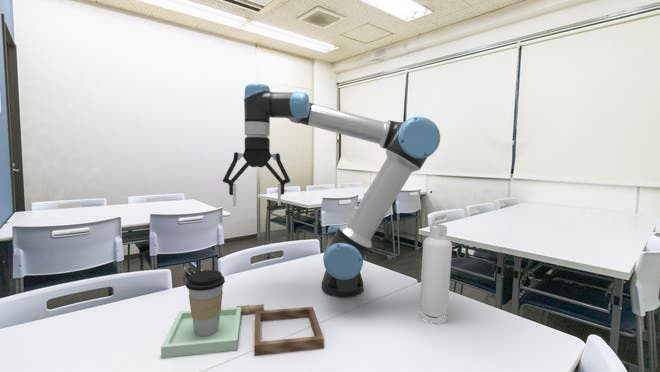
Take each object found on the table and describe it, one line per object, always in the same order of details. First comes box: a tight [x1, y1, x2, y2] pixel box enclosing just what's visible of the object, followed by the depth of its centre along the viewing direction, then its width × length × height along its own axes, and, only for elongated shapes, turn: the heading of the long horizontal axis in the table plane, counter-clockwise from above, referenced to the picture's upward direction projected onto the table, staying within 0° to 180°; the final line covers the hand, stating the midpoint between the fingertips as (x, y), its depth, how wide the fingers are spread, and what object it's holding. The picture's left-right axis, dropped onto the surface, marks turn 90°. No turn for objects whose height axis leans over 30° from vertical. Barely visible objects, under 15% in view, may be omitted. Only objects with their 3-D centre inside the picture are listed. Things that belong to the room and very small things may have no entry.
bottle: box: [418, 223, 453, 324], centre depth 95 cm, size 8×8×28 cm
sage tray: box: [160, 306, 242, 359], centre depth 84 cm, size 17×17×3 cm
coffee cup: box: [185, 269, 226, 337], centre depth 83 cm, size 9×9×15 cm
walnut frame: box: [253, 306, 325, 356], centre depth 85 cm, size 17×17×2 cm
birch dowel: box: [235, 303, 265, 315], centre depth 96 cm, size 8×2×2 cm
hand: (257, 205), depth 100 cm, fingers open, 13 cm apart
